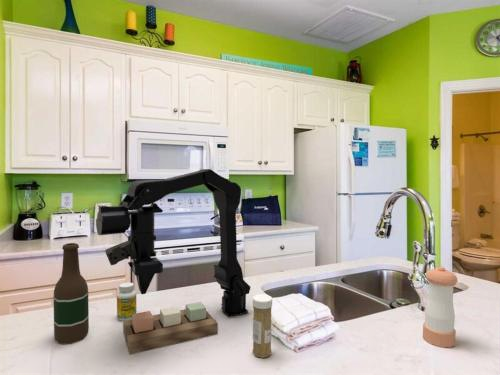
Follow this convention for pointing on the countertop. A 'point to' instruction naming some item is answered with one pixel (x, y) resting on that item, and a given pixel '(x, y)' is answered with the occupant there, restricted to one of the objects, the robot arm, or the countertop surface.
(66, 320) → the beer bottle
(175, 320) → the cream key
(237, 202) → the robot arm
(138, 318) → the terracotta key
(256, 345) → the sprinkles bottle
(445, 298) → the pepper shaker
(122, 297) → the supplement bottle
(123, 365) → the countertop surface
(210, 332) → the wooden tray
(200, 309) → the sage key
